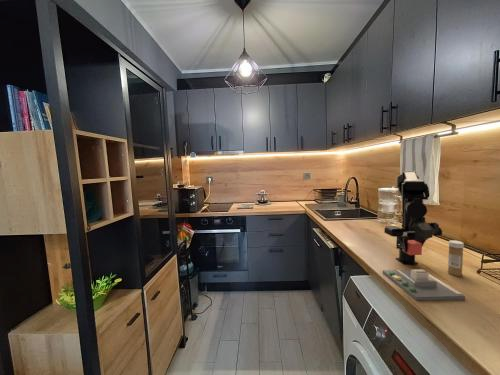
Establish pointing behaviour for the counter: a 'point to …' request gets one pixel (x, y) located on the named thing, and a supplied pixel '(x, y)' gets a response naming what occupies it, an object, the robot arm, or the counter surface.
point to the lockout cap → (414, 248)
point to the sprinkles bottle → (455, 258)
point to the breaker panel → (423, 286)
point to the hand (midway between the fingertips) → (411, 252)
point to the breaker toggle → (419, 274)
